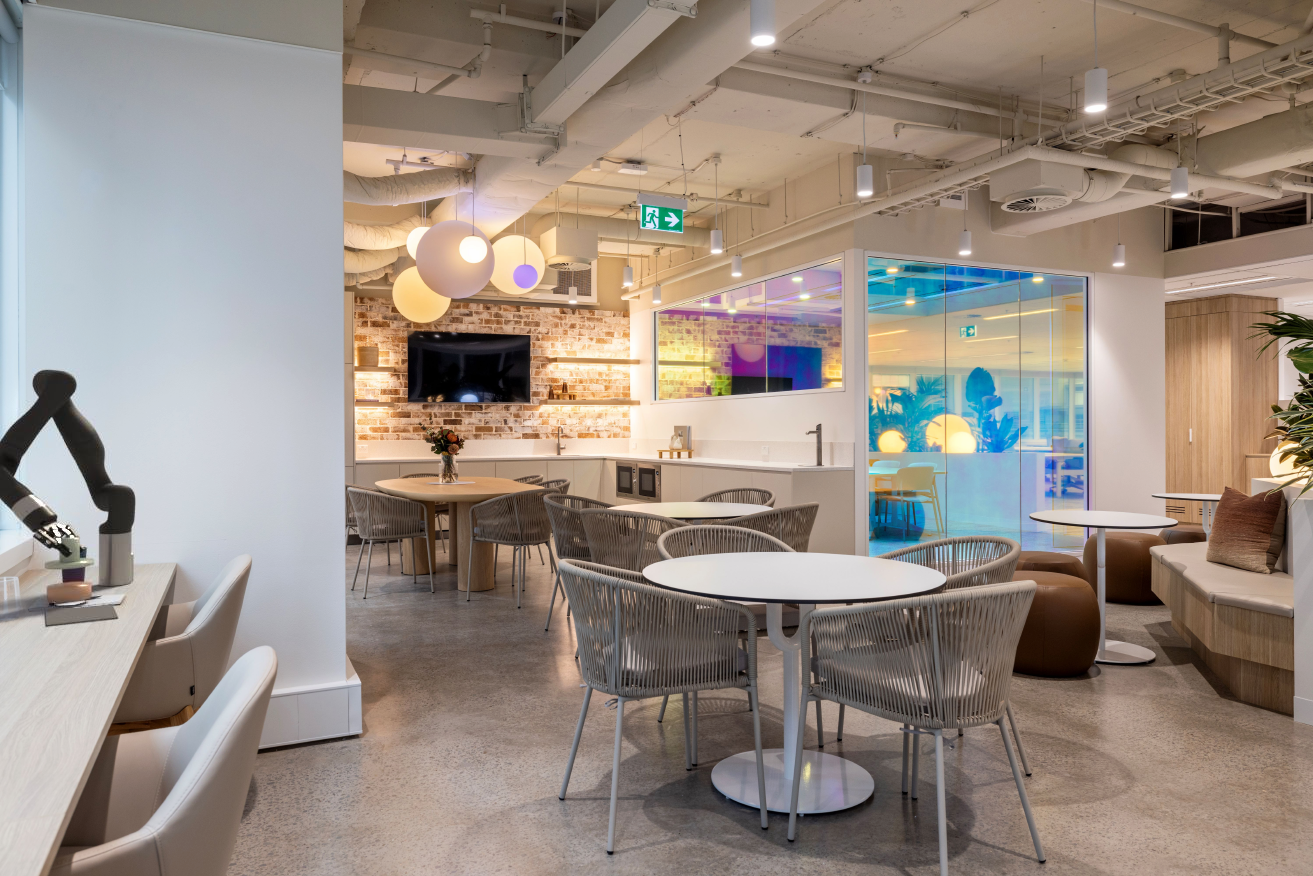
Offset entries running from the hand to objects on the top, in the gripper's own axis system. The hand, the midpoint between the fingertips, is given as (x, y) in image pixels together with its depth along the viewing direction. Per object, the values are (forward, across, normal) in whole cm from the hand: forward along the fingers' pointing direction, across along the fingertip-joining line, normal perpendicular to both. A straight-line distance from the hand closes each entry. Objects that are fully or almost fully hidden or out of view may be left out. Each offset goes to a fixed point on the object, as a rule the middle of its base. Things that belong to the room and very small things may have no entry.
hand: (75, 553), depth 249 cm
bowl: (+9, 0, +12) cm, 15 cm away
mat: (+18, -15, +3) cm, 24 cm away
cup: (+6, +10, +16) cm, 19 cm away
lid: (+1, 0, +4) cm, 4 cm away
